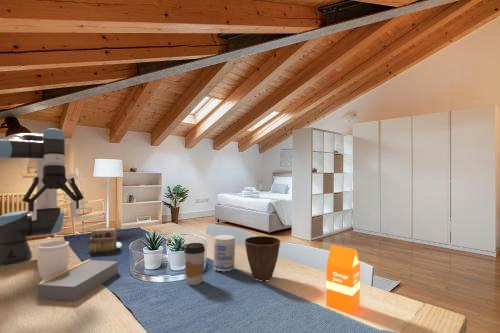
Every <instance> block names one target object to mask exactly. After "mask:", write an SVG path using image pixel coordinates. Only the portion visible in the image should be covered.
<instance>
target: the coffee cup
mask: <svg viewBox="0 0 500 333" xmlns="http://www.w3.org/2000/svg"><path fill="white" fill-rule="evenodd" d="M205 248H206V247H205V244H204V243H201V242H191V243H187V244H185V247H184V250H183V252H184V268H185V278H186V279H185V280H186V283H187V285H189V286H197V285H200V284H201V283H202V282H203V277H204V276H203V275H204V266H205V265H204V263H205V252H206V249H205Z"/></svg>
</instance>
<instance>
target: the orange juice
mask: <svg viewBox="0 0 500 333" xmlns="http://www.w3.org/2000/svg"><path fill="white" fill-rule="evenodd" d="M325 283H326V284H325V285H326V287H325V289H326V297H325V298H326V299H325V300H326V303H325V304H326V305H325V306H326V307H329V308H333V309H335V310H338V311H341V312H343V313H345V314H349V315H353V314H354V313H355V312H356V311H357V309H358V308H359V307H360V305H361V304H360V302H361V300H360V297H361V295H360V294H361V293H360V291H361V288H360V287H361V263H360V260H359V256H358V252H357V249H355V248H349V247H345V246H340V245H334V244H331V246H330V248H329V253H328V257H327V261H326V281H325ZM354 311H355V312H354Z"/></svg>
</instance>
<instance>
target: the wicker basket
mask: <svg viewBox="0 0 500 333" xmlns="http://www.w3.org/2000/svg"><path fill="white" fill-rule="evenodd" d="M90 233H91V234H90V236H91V237H90V238H89V241H88V244H89V250H87V251H86V252H85V255H86V254H87V255H88V254H89V255H97V254H106V255H107V254H109V253H114V251H115V250H116V248H117V242H118V241H117V238H118V235H117V226H112V227H111V226H110V227H109V226H108V227H94V228H93V229H92V230H91V232H90Z"/></svg>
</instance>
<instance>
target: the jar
mask: <svg viewBox="0 0 500 333" xmlns="http://www.w3.org/2000/svg"><path fill="white" fill-rule="evenodd" d="M69 245H70V242H69V241H66V240H55V241H49V242H44V243H41V244H39V245H37V249H38V254H37V261H36V262H37V268H38V273H39V277H40V278H41V280H40V282H42V281H45V280H47V279H49V278H51V277H53V276H55V275H57V274H59V273H61V272H63V271H65V270H67V269H68V265H69V261H70V251H69V248H68V247H69Z"/></svg>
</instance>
